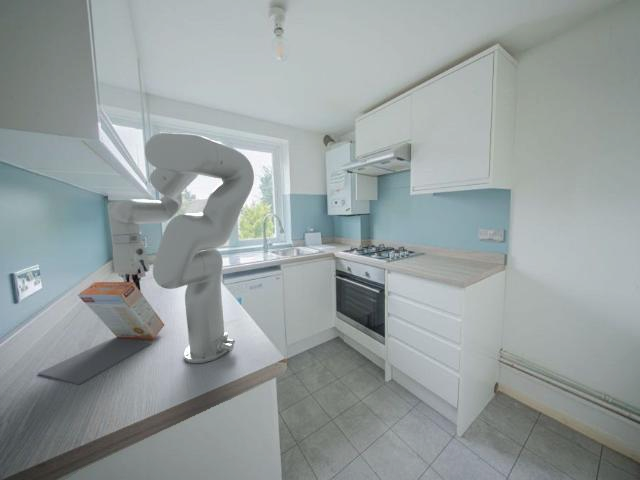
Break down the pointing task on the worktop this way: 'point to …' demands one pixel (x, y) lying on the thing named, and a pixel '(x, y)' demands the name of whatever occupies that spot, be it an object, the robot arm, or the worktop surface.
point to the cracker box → (123, 309)
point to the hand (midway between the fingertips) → (134, 293)
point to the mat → (94, 360)
